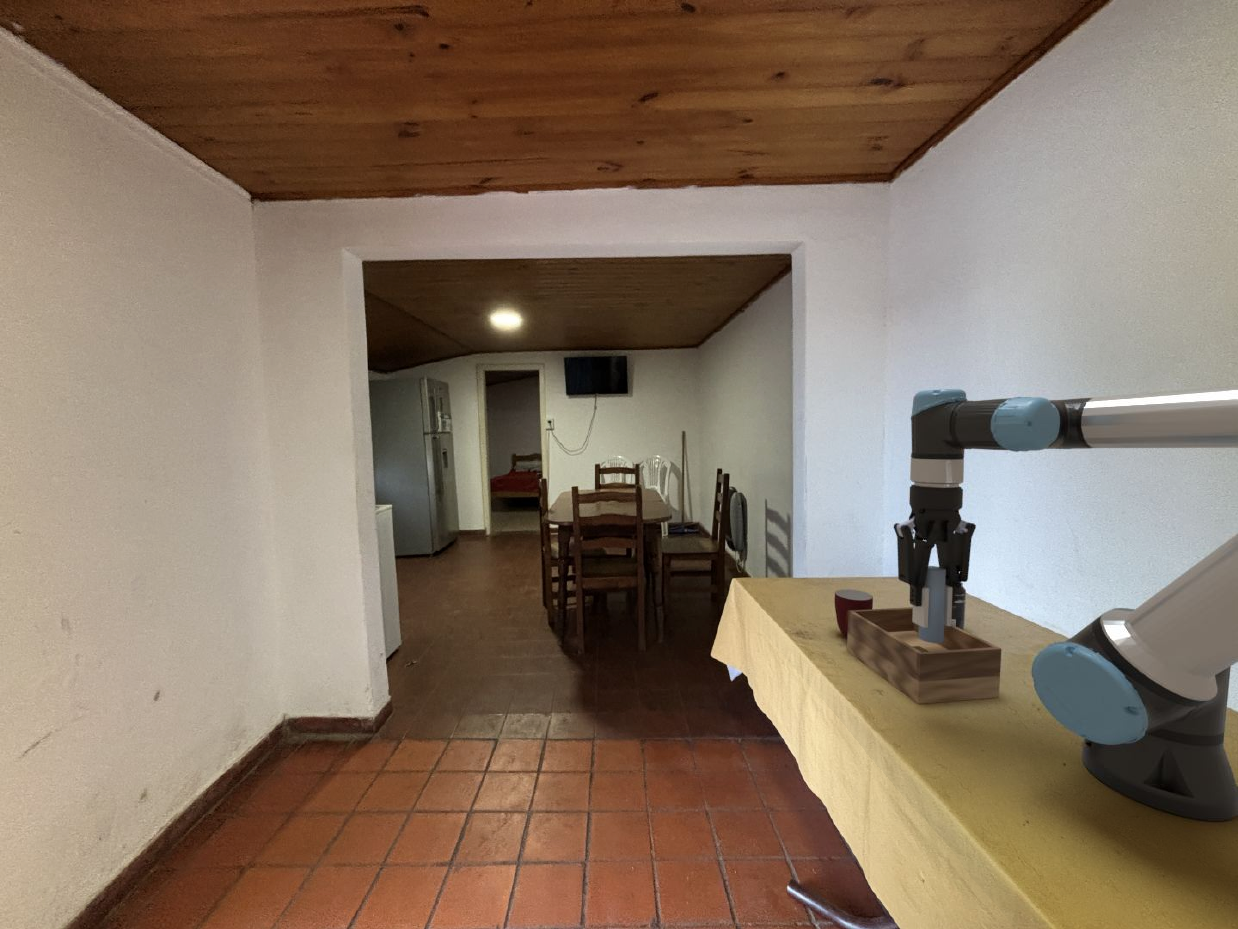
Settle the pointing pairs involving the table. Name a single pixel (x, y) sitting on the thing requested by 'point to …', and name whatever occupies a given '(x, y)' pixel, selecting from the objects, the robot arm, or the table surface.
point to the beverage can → (959, 608)
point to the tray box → (924, 657)
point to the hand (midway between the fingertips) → (931, 623)
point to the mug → (850, 606)
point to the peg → (935, 605)
